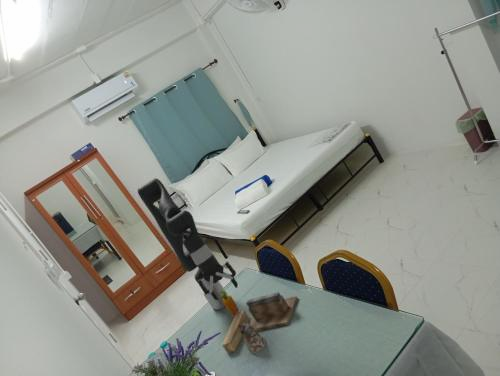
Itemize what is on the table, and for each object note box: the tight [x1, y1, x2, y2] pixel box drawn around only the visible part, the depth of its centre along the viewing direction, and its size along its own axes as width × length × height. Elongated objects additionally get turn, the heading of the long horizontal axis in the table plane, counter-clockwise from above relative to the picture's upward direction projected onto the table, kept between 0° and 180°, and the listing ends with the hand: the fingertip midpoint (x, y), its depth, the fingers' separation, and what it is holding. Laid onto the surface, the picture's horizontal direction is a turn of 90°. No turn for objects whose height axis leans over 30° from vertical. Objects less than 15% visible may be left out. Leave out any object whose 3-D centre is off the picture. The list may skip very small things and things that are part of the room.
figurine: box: [238, 321, 266, 354], centre depth 176 cm, size 7×7×12 cm
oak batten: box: [221, 309, 250, 354], centre depth 192 cm, size 4×20×5 cm, turn 160°
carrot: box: [219, 290, 239, 317], centre depth 204 cm, size 5×5×15 cm
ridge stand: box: [245, 291, 299, 332], centre depth 190 cm, size 20×16×10 cm
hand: (227, 293), depth 173 cm, fingers open, 8 cm apart
